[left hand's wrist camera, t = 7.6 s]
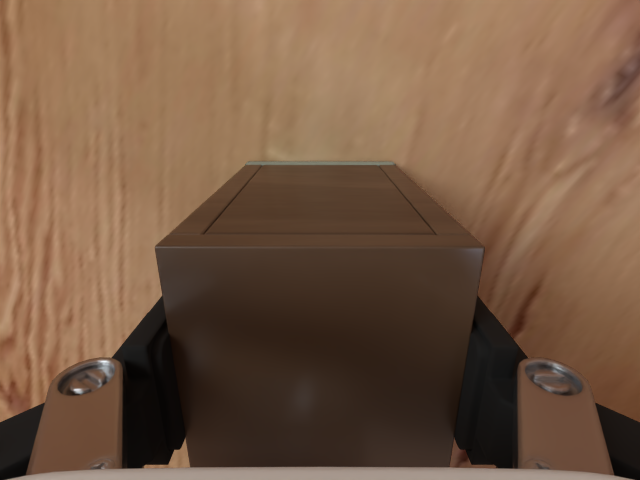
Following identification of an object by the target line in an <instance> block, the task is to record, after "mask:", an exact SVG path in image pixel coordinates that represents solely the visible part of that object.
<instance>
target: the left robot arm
mask: <svg viewBox="0 0 640 480" xmlns="http://www.w3.org/2000/svg"><path fill="white" fill-rule="evenodd" d="M185 437H186V434H185V428H184V422H183V416H182V410H181V403H180V397H179V391H178V385H177V379H176V373H175V366H174V360H173V354H172V348H171V342H170V336H169V332H168V326H167V320H166V314H165V308H164V302H163V295H162V297H161V298H160V299H159V300H158V302H157V303H156V304H155V305H154V307H153V308H152V309H151V310H150V312H149V313H147V315H146V316H145V317H144V318H143V320H142V321H141V322H140V323H139V325H138V326H137V327H136V328H135V329H134V331H133V332H132V333H131V334H130V336H129V337H128V338H127V339H126V341H125V342H124V343H123V344H122V346H121V347H120V348H119V349H118V351H117V352H116V353H115V354H114V356H113V357H112V358H94V359H89V360H85V361H82V362H79V363H77V364H75V365H73V366H71V367H69V368H67V369H66V370H64V371H63V372H61V373H60V374H59V375H58V376H57V377H56V378H55V379H54V380H53V381H52V383H51V385H50V386H49V389H48V393H47V397H46V401H45V403H43V404H41V405H38V406H36V407H34V408H32V409H29V410H27V411H25V412H23V413H20V414H18V415H16V416H14V417H11V418H9V419H7V420H5V421H2V422H0V480H640V422H637V421H635V420H633V419H631V418H628V417H626V416H624V415H622V414H619V413H617V412H615V411H613V410H610V409H608V408H606V407H604V406H601V405H599V404H597V403H595V401H594V397H593V393H592V389H591V387H590V385H589V383H588V381H587V380H586V379H585V378H584V377H583V376H582V375H581V374H580V373H579V372H577V371H576V370H574V369H573V368H571V367H569V366H567V365H565V364H563V363H561V362H558V361H555V360H551V359H546V358H528V357H527V356H526V355H525V354H524V352H523V351H522V350H521V349H520V347H519V346H518V345H517V344H516V342H515V341H514V340H513V339H512V337H511V336H510V335H509V334H508V332H507V331H506V330H505V329H504V327H503V326H502V325H501V324H500V322H499V321H498V320H497V319H496V317H495V316H494V315H493V314H492V313H491V312H490V311H489V309H488V308H487V307H486V306H485V304H484V303H483V302H482V301H481V299H480V298H479V297H478V296H477V300H476V306H475V312H474V318H473V324H472V331H471V335H470V342H469V348H468V354H467V360H466V366H465V372H464V379H463V385H462V391H461V397H460V403H459V409H458V416H457V422H456V428H455V434H454V438H455V440H456V443H457V445H458V447H459V449H461V450H466V452H467V455H468V457H469V460H470V462H471V464H472V465H493V464H494V465H496V468H449V467H191V468H144V465H168V464H169V461H170V459H171V457H172V454H173V452H174V450H179V449H180V448H181V447H182V445H183V442H184V440H185Z"/></svg>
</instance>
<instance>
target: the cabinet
mask: <svg viewBox="0 0 640 480" xmlns="http://www.w3.org/2000/svg"><path fill="white" fill-rule="evenodd" d="M484 251H485V247H484V246H483V245H482V244H481V243H480V242H479V241H478V240H477V239H476V238H474V237H473V236H472V235H471V234H470V233H469V232H468V231H467V230H466V229H465V228H463V227H462V226H461V225H460V224H459V223H458V222H457V221H456V220H455V219H454V218H453V217H451V216H450V215H449V214H448V213H447V212H446V211H445V210H444V209H443V208H442V207H441V206H439V205H438V204H437V203H436V202H435V201H434V200H433V199H432V198H431V197H430V196H429V195H427V194H426V193H425V192H424V191H423V190H422V189H421V188H420V187H419V186H418V185H417V184H415V183H414V182H413V181H412V180H411V179H410V178H409V177H408V176H407V175H406V174H405V173H403V172H402V171H401V170H400V169H399V168H398V167H397V166H396V164H395V163H394V162H247V163H246V164H245V166H244V167H243V168H242V169H241V170H240V171H238V172H237V173H236V174H235V175H234V176H233V177H232V178H231V179H230V180H228V181H227V182H226V183H225V184H224V185H223V186H222V187H221V188H220V189H218V190H217V191H216V192H215V193H214V194H213V195H212V196H211V197H210V198H208V199H207V200H206V201H205V202H204V203H203V204H202V205H201V206H200V207H198V208H197V209H196V210H195V211H194V212H193V213H192V214H191V215H190V216H188V217H187V218H186V219H185V220H184V221H183V222H182V223H181V224H180V225H178V226H177V227H176V228H175V229H174V230H173V231H172V232H171V233H170V234H169V235H167V236H166V237H165V238H164V239H163V240H161V241H160V242H159V243H158V244H157V245H156V246H155V252H156V258H157V264H158V271H159V277H160V283H161V289H162V295H163V302H164V308H165V314H166V320H167V326H168V332H169V336H170V342H171V348H172V354H173V360H174V366H175V373H176V379H177V385H178V391H179V397H180V403H181V410H182V416H183V422H184V428H185V434H186V444H187V450H188V456H189V462H190V468H191V467H449V465H450V459H451V453H452V447H453V441H454V434H455V428H456V422H457V416H458V409H459V403H460V397H461V391H462V385H463V379H464V372H465V366H466V360H467V354H468V348H469V342H470V335H471V331H472V324H473V318H474V312H475V306H476V300H477V294H478V288H479V282H480V275H481V269H482V263H483V257H484Z"/></svg>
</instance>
